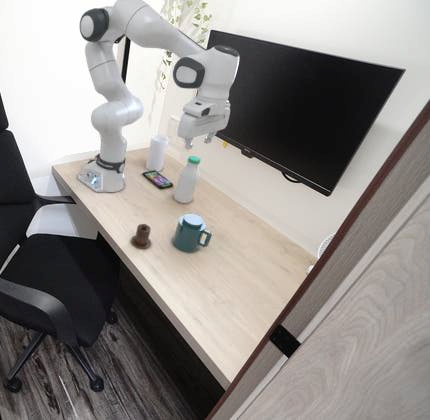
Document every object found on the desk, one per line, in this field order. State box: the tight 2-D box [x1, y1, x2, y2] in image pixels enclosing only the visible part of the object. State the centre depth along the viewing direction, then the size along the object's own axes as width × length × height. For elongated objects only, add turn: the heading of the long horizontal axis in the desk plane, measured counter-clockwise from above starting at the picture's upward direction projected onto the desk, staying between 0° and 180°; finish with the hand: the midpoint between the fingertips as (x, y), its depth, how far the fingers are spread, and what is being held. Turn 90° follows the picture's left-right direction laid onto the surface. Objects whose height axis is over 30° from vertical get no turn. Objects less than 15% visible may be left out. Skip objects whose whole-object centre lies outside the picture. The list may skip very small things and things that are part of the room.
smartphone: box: [142, 170, 174, 190], centre depth 154 cm, size 8×1×15 cm
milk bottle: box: [173, 155, 201, 204], centre depth 136 cm, size 8×8×20 cm
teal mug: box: [171, 213, 213, 254], centre depth 114 cm, size 12×9×12 cm
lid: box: [130, 223, 152, 250], centre depth 115 cm, size 7×7×9 cm
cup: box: [145, 134, 170, 172], centre depth 160 cm, size 8×8×16 cm
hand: (197, 145), depth 109 cm, fingers open, 8 cm apart
